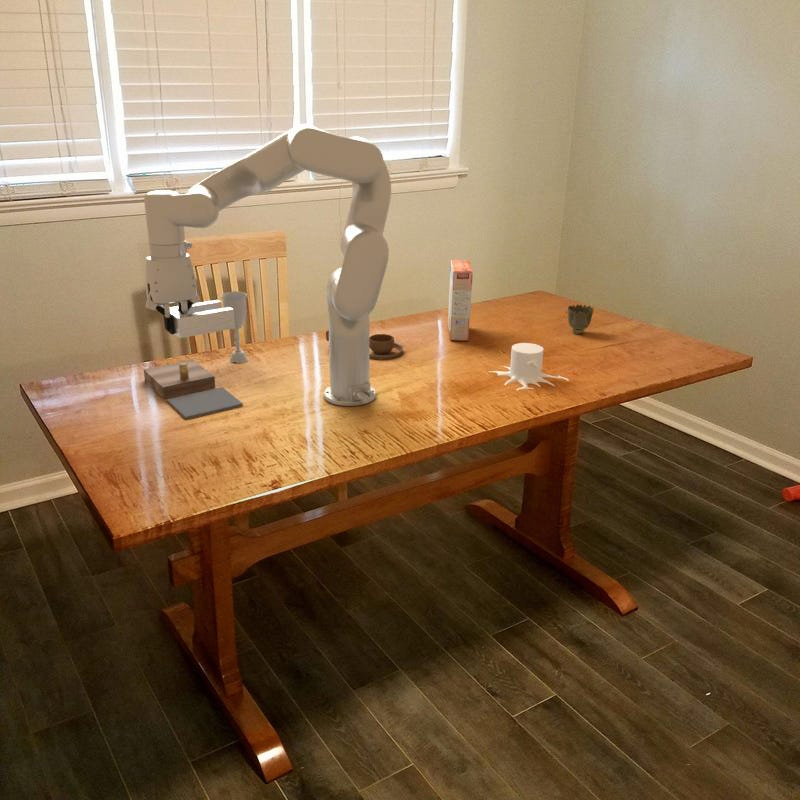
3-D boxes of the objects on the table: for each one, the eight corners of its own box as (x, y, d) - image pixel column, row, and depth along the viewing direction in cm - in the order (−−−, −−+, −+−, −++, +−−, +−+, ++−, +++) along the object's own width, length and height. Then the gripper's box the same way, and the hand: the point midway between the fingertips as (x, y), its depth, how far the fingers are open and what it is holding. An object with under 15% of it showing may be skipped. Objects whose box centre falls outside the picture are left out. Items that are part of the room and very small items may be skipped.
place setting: (379, 368, 213) (379, 347, 210) (322, 352, 223) (321, 332, 221) (416, 350, 226) (416, 330, 224) (360, 336, 237) (360, 317, 234)
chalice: (245, 365, 212) (241, 299, 205) (221, 363, 213) (216, 298, 206) (255, 356, 218) (251, 292, 211) (232, 354, 220) (227, 290, 212)
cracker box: (469, 341, 232) (473, 271, 223) (449, 341, 232) (452, 270, 223) (466, 326, 245) (470, 259, 236) (447, 326, 245) (449, 259, 236)
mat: (242, 405, 188) (242, 403, 187) (185, 419, 180) (185, 416, 180) (222, 389, 197) (222, 386, 196) (167, 401, 189) (166, 399, 189)
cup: (565, 328, 244) (567, 303, 241) (589, 329, 243) (592, 304, 240) (566, 336, 237) (568, 310, 234) (591, 337, 236) (594, 311, 233)
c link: (219, 318, 188) (217, 299, 186) (234, 328, 181) (233, 309, 179) (165, 327, 181) (163, 308, 179) (179, 338, 174) (177, 318, 173)
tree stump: (500, 393, 197) (502, 363, 194) (480, 366, 215) (481, 337, 211) (577, 389, 200) (580, 359, 197) (551, 362, 218) (553, 334, 215)
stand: (215, 387, 198) (213, 362, 195) (164, 398, 191) (161, 373, 188) (194, 370, 208) (191, 346, 205) (144, 380, 201) (141, 356, 199)
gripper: (196, 242, 178) (203, 321, 185) (125, 251, 170) (135, 333, 177) (209, 249, 172) (216, 330, 180) (136, 258, 164) (147, 342, 171)
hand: (176, 331), depth 178 cm, fingers closed on c link, 2 cm apart
